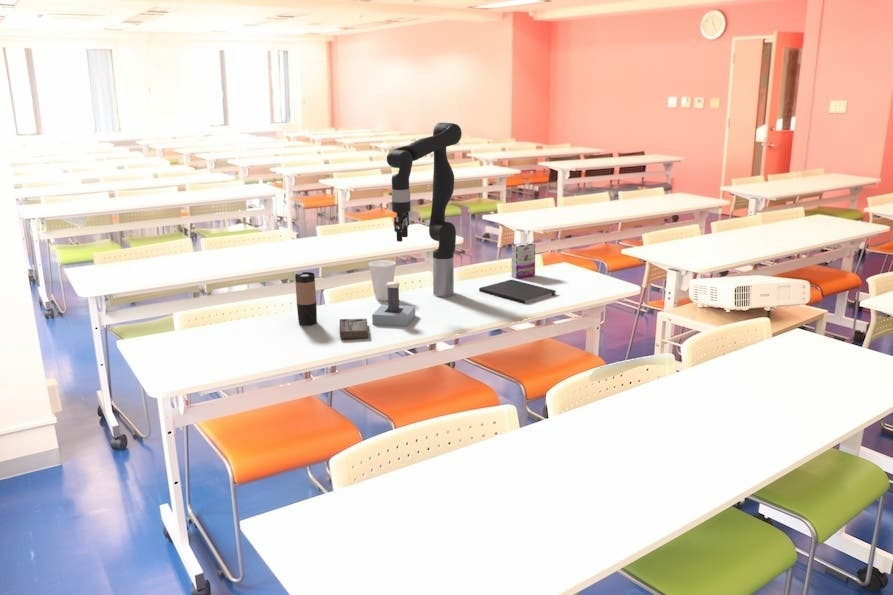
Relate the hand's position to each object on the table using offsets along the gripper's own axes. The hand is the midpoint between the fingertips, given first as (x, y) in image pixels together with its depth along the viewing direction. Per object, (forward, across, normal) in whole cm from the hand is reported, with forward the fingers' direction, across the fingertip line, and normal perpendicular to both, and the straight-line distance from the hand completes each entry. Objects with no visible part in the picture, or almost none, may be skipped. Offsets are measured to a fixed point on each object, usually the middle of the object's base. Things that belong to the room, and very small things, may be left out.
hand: (402, 239), depth 304 cm
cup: (+30, +13, +13) cm, 35 cm away
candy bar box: (+31, +62, -44) cm, 82 cm away
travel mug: (+30, -26, +33) cm, 52 cm away
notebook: (+31, +32, -44) cm, 63 cm away
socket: (+30, -16, 0) cm, 34 cm away
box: (+30, -34, +11) cm, 47 cm away
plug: (+30, -16, 0) cm, 34 cm away
